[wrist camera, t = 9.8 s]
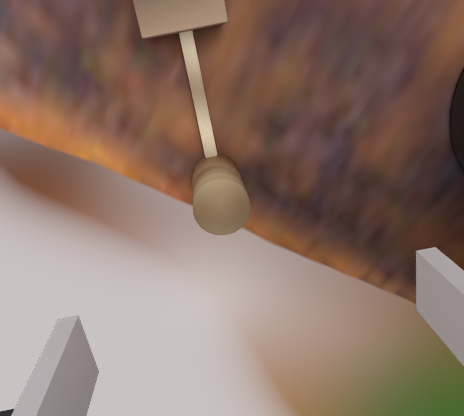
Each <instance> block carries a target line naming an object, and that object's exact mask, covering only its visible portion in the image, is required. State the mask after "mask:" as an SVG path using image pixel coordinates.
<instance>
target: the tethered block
mask: <svg viewBox="0 0 464 416" xmlns="http://www.w3.org/2000/svg"><path fill="white" fill-rule="evenodd" d="M133 3H134V7H135V11H136V15H137V19H138V23H139V28H140V32H141V36H142V38H144V39H153V38H158V37H163V36H168V35H173V34H178V33H179V36H180V41H181V45H182V50H183V55H184V59H185V64H186V69H187V73H188V78H189V83H190V87H191V92H192V97H193V101H194V106H195V111H196V115H197V120H198V125H199V130H200V134H201V139H202V144H203V148H204V153H205V156H204V157H202V158H201V159H200V160H199V161H198V162H197V163H196V165H195V167H194V169H193V174H192V182H193V213H194V217H195V219H196V221H197V223H198V224H199V226H200V227H201V228H202V229H204V230H205V231H207V232H209V233H212V234H215V235H227V234H231V233H233V232H236V231H237V230H238V229H240V228H241V227H242V226H243V225H244V224H245V223H246V222H247V220H248V218H249V215H250V211H251V204H250V200H249V197H248V194H247V192H246V189H245V187H244V184H243V182H242V179H241V176H240V174H239V171H238V169H237V166H236V164H235V163H234V162H233V160H232V159H230V158H229V157H227V156H225V155H223V154H217V151H216V146H215V141H214V136H213V131H212V126H211V121H210V116H209V111H208V106H207V101H206V96H205V91H204V86H203V81H202V76H201V72H200V67H199V62H198V57H197V52H196V47H195V42H194V37H193V32H192V31H194V30H199V29H204V28H209V27H214V26H219V25H222V24H224V23H226V22H227V15H226V9H225V3H224V0H133Z"/></svg>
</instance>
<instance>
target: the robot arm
mask: <svg viewBox="0 0 464 416" xmlns="http://www.w3.org/2000/svg"><path fill="white" fill-rule="evenodd" d="M450 128H451V138H452V143H453V147H454V150H455V153H456V156H457V158H458V160H459V162H460V164H461V165H462V167H463V168H464V71H463V73H462V75H461V78H460V80H459V83H458V85H457V88H456V91H455V95H454V98H453V103H452V109H451V120H450ZM416 310H417V311H418V313H419V314H420V315H421V316H422V317H423V318H424V319H425V321H426V322H427V323H428V324H429V326H430V327H431V328H432V329H433V330H434V332H435V333H436V334H437V335H438V336H439V337H440V339H441V340H442V341H443V342H444V343H445V344H446V346H447V347H448V348H449V349H450V350H451V352H452V353H453V354H454V355H455V356H456V358H457V359H458V360H459V361H460V362H461V363H462V365H463V366H464V270H462V269H461V268H460V267H459V266H458V265H456V264H455V263H454V262H453V261H452V260H450V259H449V258H448V257H447V256H446V255H444V254H443V253H442V252H441V251H440V250H438V249H437V248H436V247H433V248H428V249H423V250H417V251H416ZM98 373H99V371H98V368H97V365H96V362H95V360H94V357H93V354H92V352H91V349H90V346H89V344H88V341H87V338H86V335H85V332H84V330H83V327H82V324H81V321H80V319H79V316H74V317H68V318H63V319H58V321H57V323H56V325H55V327H54V329H53V331H52V333H51V335H50V338H49V339H48V342H47V344H46V346H45V348H44V350H43V352H42V354H41V356H40V358H39V360H38V362H37V364H36V366H35V368H34V370H33V372H32V374H31V376H30V379H29V380H28V382H27V385H26V387H25V389H24V391H23V393H22V395H21V397H20V399H19V401H18V403H17V405H16V407H15V409H11V410H6V411H1V412H0V416H86V415H87V411H88V408H89V404H90V401H91V397H92V394H93V390H94V387H95V383H96V380H97V376H98Z"/></svg>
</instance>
